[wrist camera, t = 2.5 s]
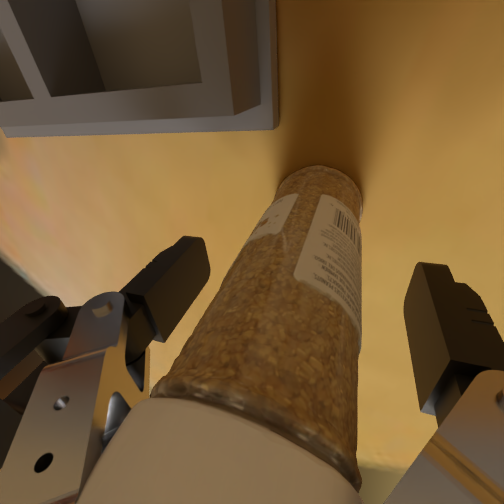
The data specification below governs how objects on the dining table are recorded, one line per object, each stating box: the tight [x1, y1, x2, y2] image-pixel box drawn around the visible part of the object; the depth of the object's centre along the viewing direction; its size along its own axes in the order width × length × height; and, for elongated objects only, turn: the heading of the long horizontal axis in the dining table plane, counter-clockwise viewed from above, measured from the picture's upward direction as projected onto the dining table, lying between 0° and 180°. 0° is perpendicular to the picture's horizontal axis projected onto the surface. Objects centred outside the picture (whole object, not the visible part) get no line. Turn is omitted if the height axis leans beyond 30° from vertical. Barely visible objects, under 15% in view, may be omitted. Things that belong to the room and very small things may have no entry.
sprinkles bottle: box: [76, 165, 364, 504], centre depth 9 cm, size 5×5×13 cm
